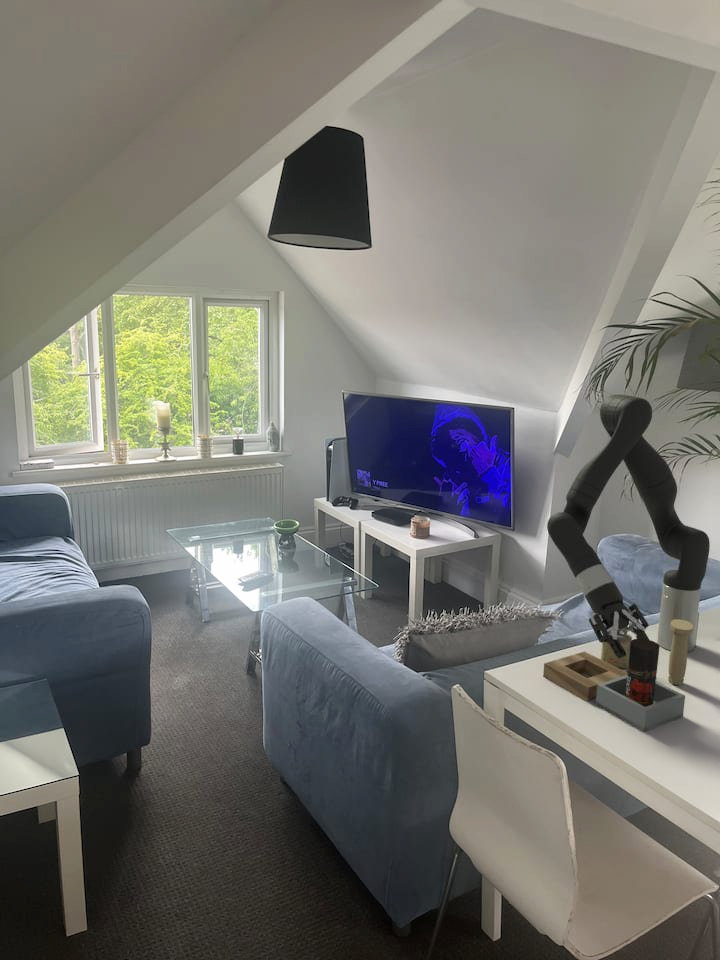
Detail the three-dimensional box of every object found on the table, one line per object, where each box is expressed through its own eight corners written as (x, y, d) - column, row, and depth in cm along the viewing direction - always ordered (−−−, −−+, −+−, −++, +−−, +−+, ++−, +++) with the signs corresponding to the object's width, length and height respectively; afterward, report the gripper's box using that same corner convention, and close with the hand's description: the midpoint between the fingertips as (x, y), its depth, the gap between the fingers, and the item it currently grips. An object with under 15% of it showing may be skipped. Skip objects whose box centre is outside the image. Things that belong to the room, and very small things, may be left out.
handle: (685, 678, 176) (692, 621, 173) (687, 690, 170) (693, 631, 167) (664, 675, 177) (670, 618, 174) (665, 686, 172) (671, 627, 169)
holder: (583, 664, 183) (584, 651, 182) (628, 687, 171) (629, 673, 170) (543, 676, 176) (544, 663, 175) (587, 701, 164) (588, 687, 163)
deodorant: (618, 702, 162) (624, 640, 159) (639, 698, 164) (645, 637, 161) (637, 715, 157) (644, 651, 154) (658, 710, 159) (665, 647, 156)
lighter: (630, 664, 183) (633, 627, 181) (629, 670, 180) (632, 633, 178) (600, 659, 186) (604, 622, 184) (599, 664, 183) (602, 628, 181)
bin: (634, 691, 169) (636, 671, 168) (682, 716, 158) (685, 695, 157) (595, 704, 163) (597, 684, 162) (643, 732, 152) (646, 710, 151)
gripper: (587, 586, 161) (625, 653, 153) (629, 575, 168) (667, 639, 161) (567, 601, 166) (603, 666, 159) (609, 590, 174) (645, 652, 166)
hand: (635, 652), depth 160 cm, fingers open, 8 cm apart
